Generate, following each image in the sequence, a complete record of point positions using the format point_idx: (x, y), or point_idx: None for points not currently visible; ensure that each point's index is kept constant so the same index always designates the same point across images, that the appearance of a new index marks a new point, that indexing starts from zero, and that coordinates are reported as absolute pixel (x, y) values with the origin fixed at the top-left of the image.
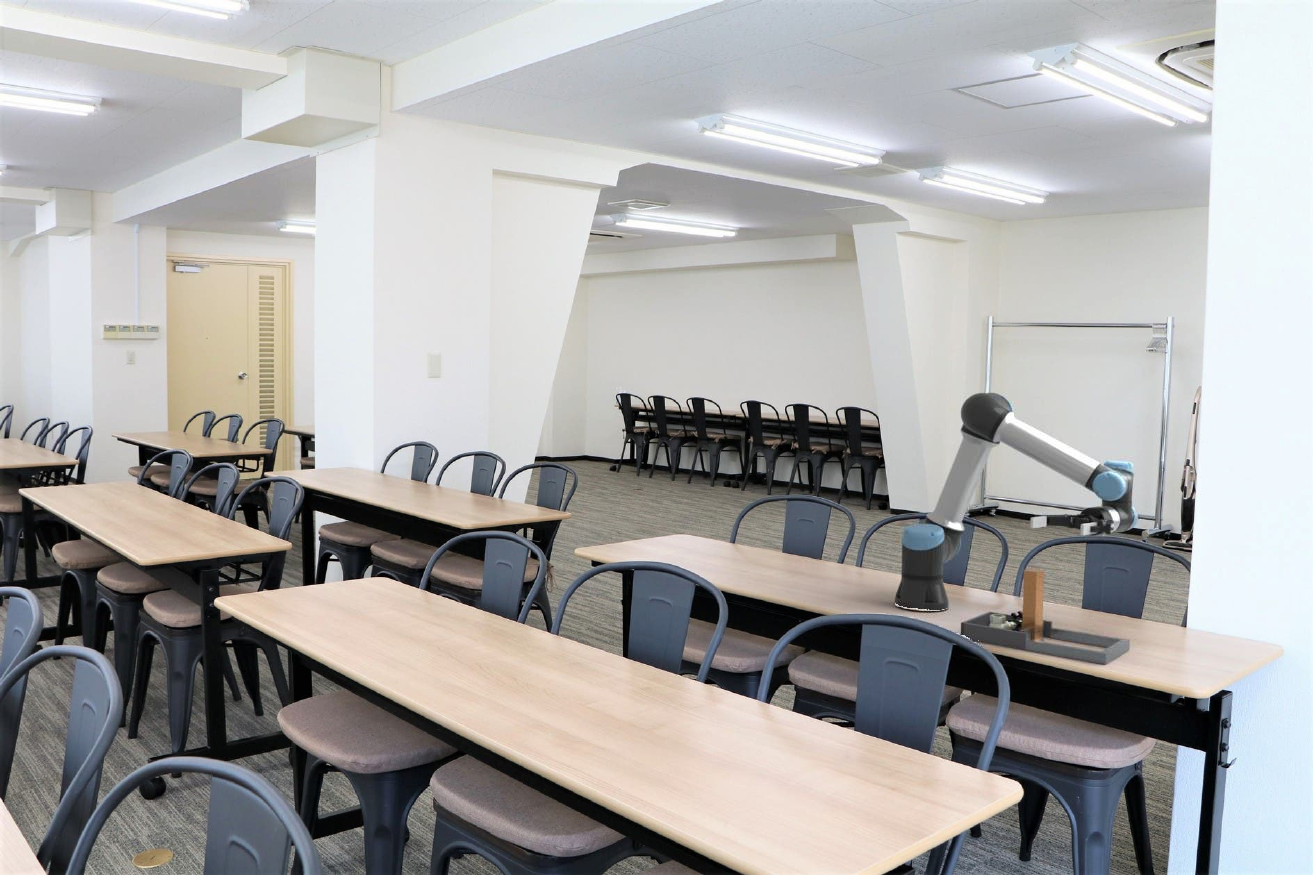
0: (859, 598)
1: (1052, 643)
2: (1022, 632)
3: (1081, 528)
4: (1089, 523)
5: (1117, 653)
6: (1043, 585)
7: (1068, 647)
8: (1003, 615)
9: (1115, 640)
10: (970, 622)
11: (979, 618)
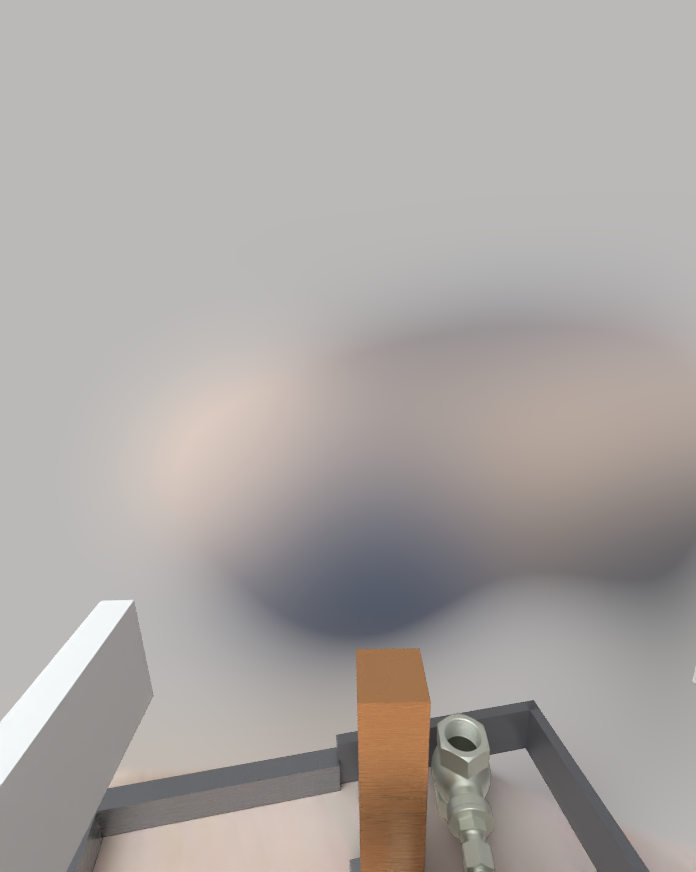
0: None
1: (258, 775)
2: (351, 739)
3: (132, 639)
4: (2, 744)
5: None
6: (359, 763)
7: (203, 771)
8: (456, 752)
9: None
10: (551, 749)
11: (605, 830)
